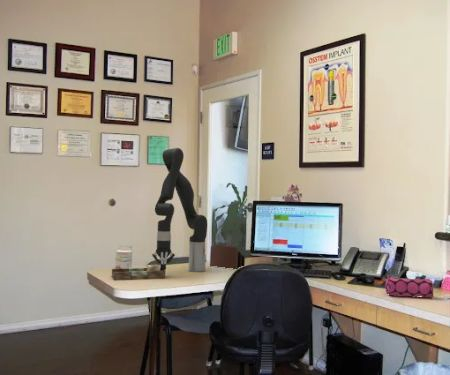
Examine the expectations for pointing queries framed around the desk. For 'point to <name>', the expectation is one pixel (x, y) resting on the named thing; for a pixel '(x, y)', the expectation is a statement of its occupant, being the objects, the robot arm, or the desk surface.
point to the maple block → (153, 268)
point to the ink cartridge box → (123, 257)
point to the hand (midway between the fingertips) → (163, 270)
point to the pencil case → (409, 287)
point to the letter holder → (226, 257)
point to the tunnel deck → (136, 274)
